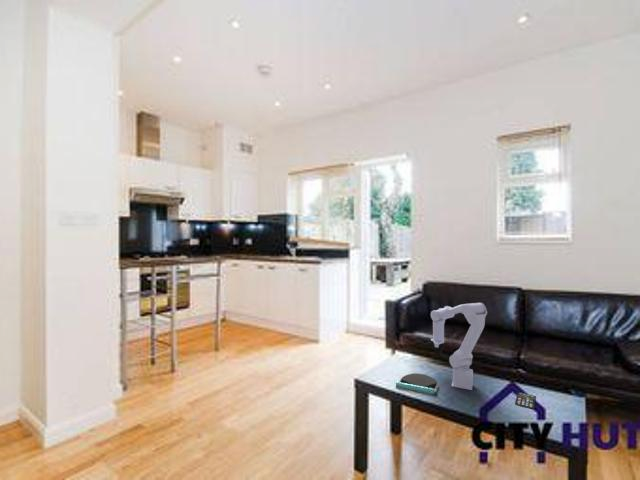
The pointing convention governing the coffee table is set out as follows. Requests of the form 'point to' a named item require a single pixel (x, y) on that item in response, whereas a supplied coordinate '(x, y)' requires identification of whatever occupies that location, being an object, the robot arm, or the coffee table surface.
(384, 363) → the coffee table surface
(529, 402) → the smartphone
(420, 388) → the teal tray
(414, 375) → the media streaming box
